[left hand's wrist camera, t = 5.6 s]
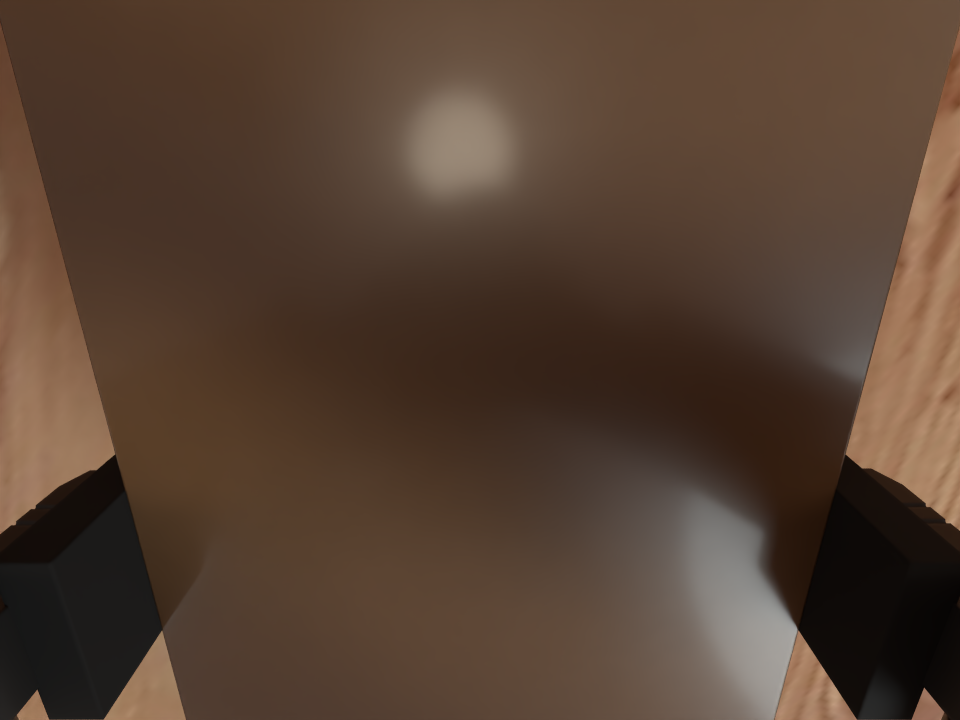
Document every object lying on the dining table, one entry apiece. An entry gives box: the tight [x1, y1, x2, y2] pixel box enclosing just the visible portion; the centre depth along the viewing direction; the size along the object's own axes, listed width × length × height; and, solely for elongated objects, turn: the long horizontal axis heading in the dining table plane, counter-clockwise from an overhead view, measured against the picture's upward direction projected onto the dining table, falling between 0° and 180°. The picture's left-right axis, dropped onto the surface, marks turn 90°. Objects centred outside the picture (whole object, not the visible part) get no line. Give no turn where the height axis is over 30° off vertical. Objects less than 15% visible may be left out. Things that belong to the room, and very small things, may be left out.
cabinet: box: [0, 0, 960, 720], centre depth 11 cm, size 19×10×8 cm, turn 0°
